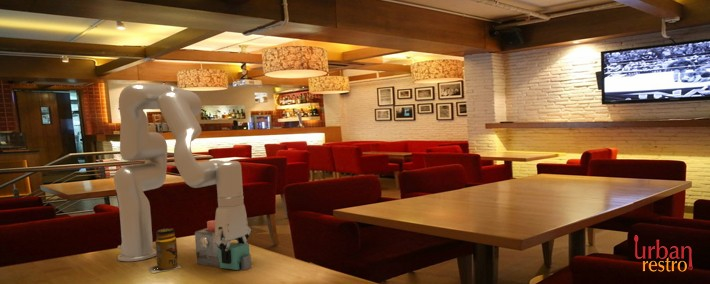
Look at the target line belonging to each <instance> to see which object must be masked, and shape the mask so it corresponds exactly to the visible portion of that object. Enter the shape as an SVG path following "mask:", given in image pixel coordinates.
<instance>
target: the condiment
mask: <svg viewBox="0 0 710 284" xmlns="http://www.w3.org/2000/svg"><path fill="white" fill-rule="evenodd" d="M155 233H156V239H155V249H156V254H157V255H156V263H157V264H156V265H151V266H148V269H149V271H150V270H151V271H150V272H151V273H152V274H155V273H160V272H162V271H160V270H164V271H163V272H165V271H171V270H177V269H180V268H182V267H181V265H180V264H179V262H178V257H179V255H178V248H177V245H178V244H177V238H176V236H175V235H176V234H175V229H174V228H173V227H172V228H170V227H166V228H161V229H158V230H157V231H156V232H155ZM157 268H158V269H157ZM154 269H155V270H154ZM170 269H171V270H170ZM157 270H158V271H157Z"/></svg>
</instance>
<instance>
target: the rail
mask: <svg viewBox="0 0 710 284" xmlns="http://www.w3.org/2000/svg"><path fill="white" fill-rule="evenodd" d="M251 256H252V255H251V254H247V255H244V256H242V257H241V262H239V270H240V271H246V270H248V269H251V268H252V257H251ZM196 260H197V263H196V264H197V265H202V266H203V265H204V266H210V267H217V268H220V262H219V256H216V257H215V256H207V250H206V249H203V250H200V251H197V255H196Z"/></svg>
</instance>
